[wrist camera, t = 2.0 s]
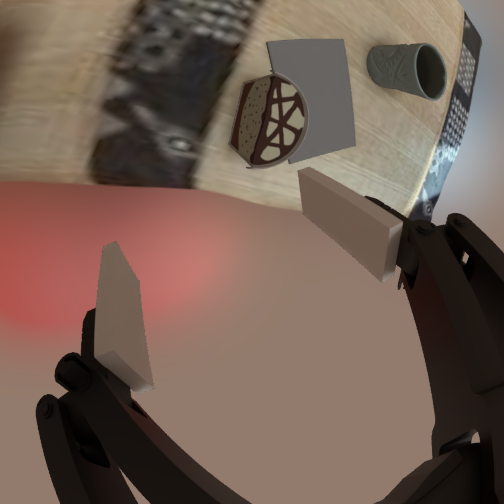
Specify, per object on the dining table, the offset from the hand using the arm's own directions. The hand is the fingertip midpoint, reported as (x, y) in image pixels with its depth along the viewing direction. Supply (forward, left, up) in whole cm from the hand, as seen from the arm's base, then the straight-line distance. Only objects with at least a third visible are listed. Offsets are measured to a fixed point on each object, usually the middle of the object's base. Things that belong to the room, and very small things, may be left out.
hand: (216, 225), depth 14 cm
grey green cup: (+40, +6, -26) cm, 48 cm away
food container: (+13, 0, -26) cm, 29 cm away
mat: (+24, +1, -26) cm, 35 cm away
